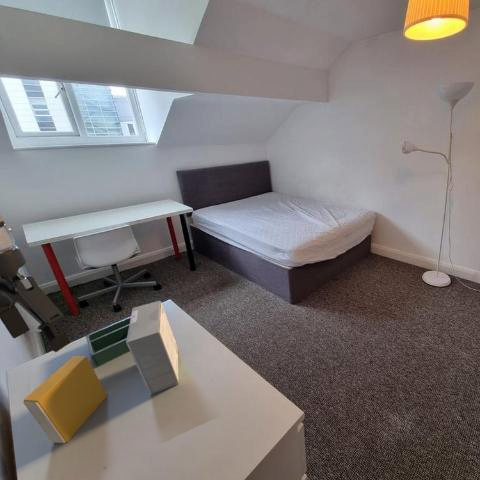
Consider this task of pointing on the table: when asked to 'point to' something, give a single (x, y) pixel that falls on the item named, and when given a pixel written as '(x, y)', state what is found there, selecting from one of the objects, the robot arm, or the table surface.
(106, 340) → the caddy
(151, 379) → the hard drive box
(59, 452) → the table surface
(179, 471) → the table surface
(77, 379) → the book
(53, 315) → the robot arm
